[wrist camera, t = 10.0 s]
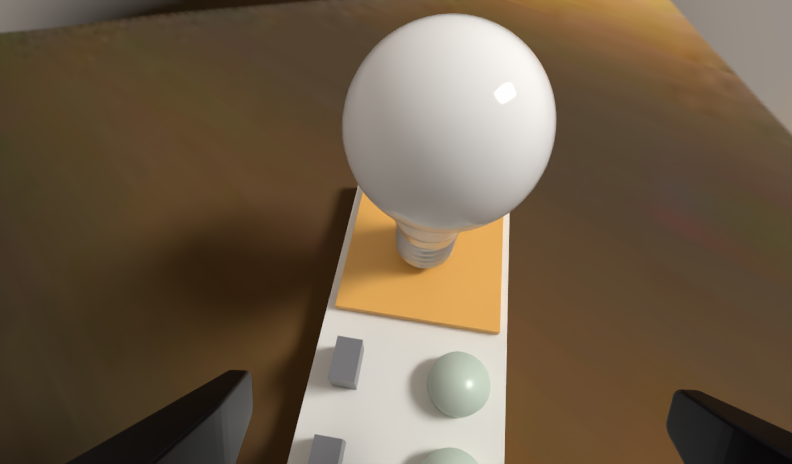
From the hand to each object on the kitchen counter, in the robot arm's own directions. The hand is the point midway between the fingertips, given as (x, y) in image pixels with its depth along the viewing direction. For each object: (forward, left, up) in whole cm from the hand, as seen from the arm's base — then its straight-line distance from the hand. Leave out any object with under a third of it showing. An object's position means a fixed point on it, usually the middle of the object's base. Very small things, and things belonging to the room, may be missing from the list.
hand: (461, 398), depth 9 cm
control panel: (+2, +1, -9) cm, 10 cm away
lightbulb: (+8, +1, -8) cm, 11 cm away
